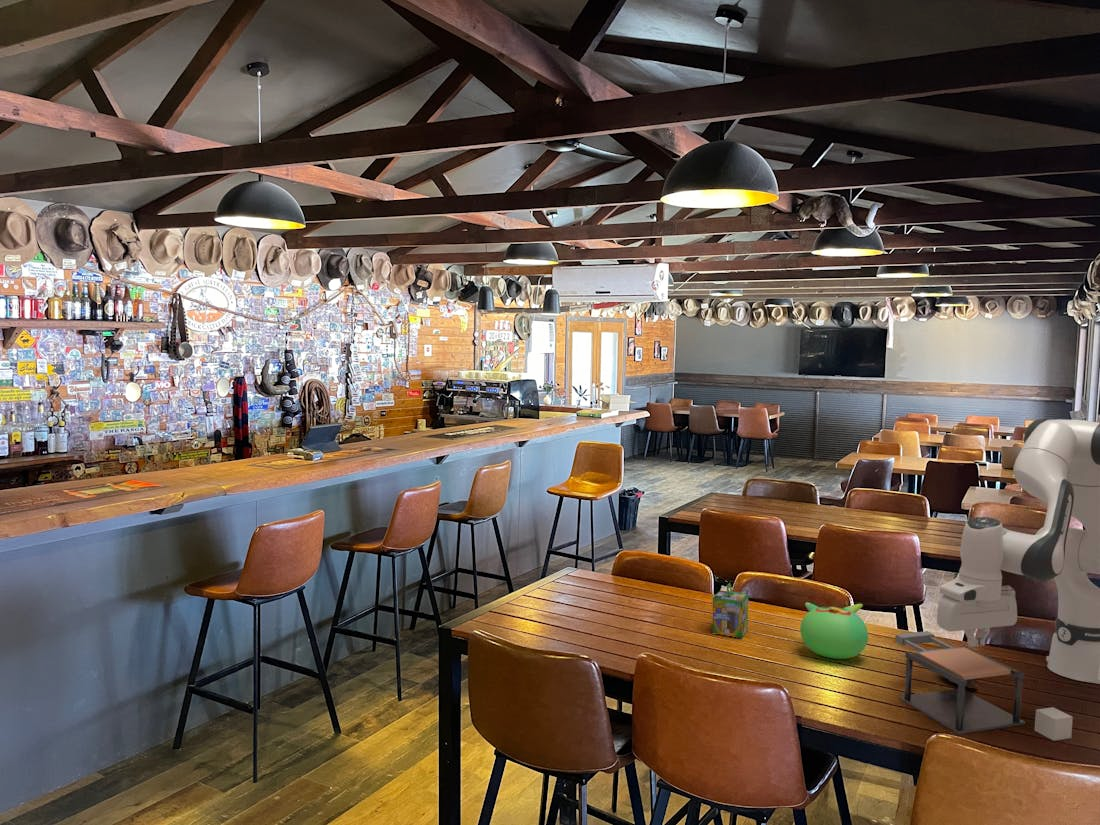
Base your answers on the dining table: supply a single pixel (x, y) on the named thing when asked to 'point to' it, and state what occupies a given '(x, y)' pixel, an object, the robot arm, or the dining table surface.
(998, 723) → the stand
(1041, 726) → the grey cube
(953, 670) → the trapdoor
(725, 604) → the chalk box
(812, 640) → the green rounded blob
